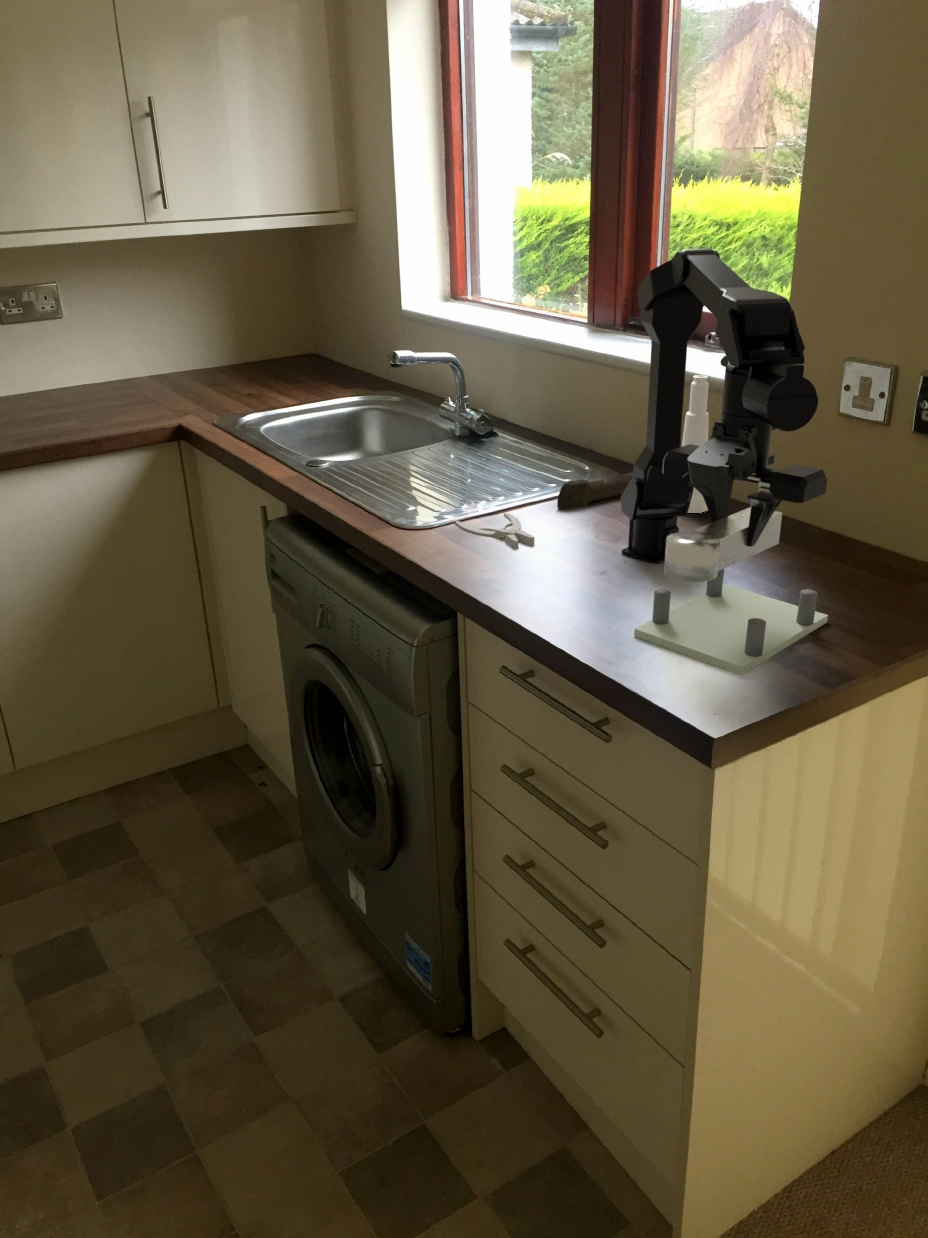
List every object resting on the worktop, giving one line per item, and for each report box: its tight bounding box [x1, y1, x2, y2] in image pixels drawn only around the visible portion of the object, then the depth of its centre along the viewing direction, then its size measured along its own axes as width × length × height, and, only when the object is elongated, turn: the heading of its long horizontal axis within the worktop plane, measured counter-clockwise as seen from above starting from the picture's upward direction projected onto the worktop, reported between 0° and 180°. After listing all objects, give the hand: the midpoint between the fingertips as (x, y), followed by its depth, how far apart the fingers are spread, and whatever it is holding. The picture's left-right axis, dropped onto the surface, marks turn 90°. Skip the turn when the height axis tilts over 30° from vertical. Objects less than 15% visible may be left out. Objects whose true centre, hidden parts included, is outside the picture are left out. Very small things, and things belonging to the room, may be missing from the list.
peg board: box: [633, 568, 829, 676], centre depth 125 cm, size 15×20×5 cm
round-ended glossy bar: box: [663, 506, 783, 583], centre depth 120 cm, size 6×19×4 cm, turn 134°
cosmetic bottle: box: [681, 374, 710, 514], centre depth 165 cm, size 6×6×22 cm
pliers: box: [454, 512, 535, 549], centre depth 160 cm, size 10×2×15 cm
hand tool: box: [556, 470, 633, 510], centre depth 175 cm, size 19×4×5 cm, turn 122°
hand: (735, 541), depth 122 cm, fingers closed on round-ended glossy bar, 4 cm apart
